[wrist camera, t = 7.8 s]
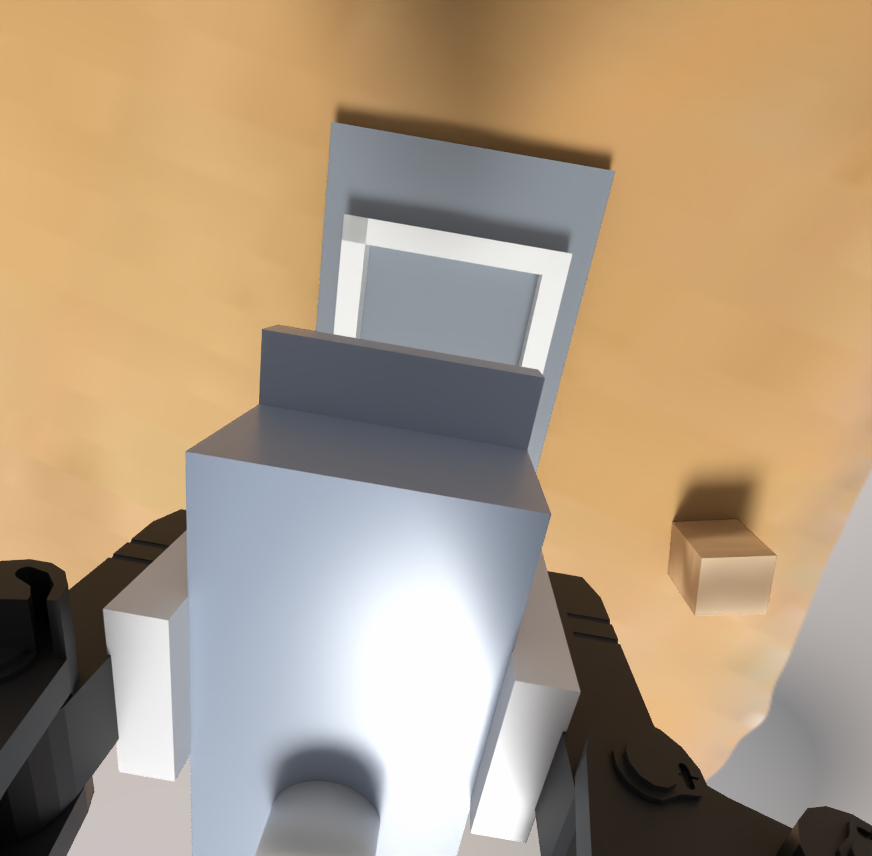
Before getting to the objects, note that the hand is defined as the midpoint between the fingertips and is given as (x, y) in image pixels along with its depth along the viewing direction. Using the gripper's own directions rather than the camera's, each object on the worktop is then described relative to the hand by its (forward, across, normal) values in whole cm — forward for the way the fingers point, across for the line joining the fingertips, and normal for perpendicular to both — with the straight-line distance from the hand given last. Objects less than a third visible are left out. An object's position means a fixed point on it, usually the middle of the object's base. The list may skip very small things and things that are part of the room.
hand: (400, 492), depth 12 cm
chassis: (+16, 0, 0) cm, 16 cm away
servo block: (0, 0, 0) cm, 1 cm away
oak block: (+16, +19, -9) cm, 27 cm away
